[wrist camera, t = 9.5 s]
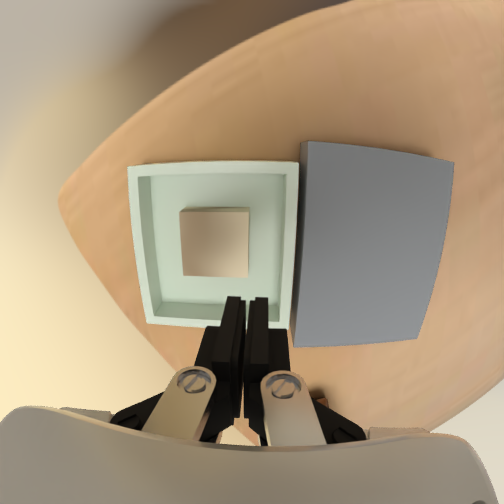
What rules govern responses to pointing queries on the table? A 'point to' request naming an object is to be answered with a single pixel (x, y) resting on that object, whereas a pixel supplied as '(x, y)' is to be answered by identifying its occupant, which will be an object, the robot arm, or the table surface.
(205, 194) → the box
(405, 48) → the table surface
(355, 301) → the plate
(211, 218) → the block
